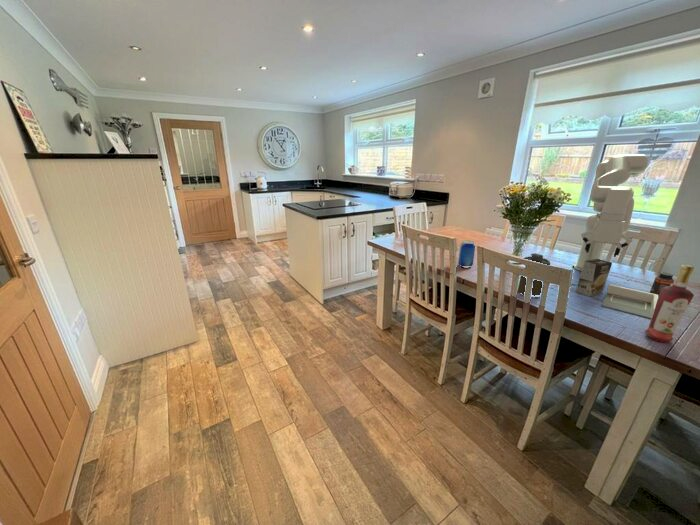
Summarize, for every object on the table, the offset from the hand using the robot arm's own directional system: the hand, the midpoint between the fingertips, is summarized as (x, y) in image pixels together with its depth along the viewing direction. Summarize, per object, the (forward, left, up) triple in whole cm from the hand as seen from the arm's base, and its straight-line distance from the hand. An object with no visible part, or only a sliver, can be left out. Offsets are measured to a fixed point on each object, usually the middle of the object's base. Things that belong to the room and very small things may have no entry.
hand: (600, 254), depth 126 cm
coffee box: (0, 0, -20) cm, 20 cm away
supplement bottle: (-17, +23, -20) cm, 35 cm away
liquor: (+28, +23, -20) cm, 42 cm away
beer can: (+5, -59, -20) cm, 63 cm away
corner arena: (+3, +14, -20) cm, 24 cm away
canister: (+20, -20, -20) cm, 34 cm away
